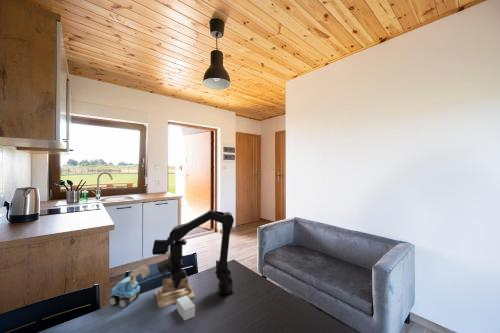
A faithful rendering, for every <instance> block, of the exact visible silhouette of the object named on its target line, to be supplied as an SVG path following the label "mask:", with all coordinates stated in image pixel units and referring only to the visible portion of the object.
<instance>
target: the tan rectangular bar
mask: <svg viewBox="0 0 500 333" xmlns="http://www.w3.org/2000/svg"><path fill="white" fill-rule="evenodd" d="M188 284H189V277H188V275H187V274H186V278H185V279H182V280H181V282H180V284H179V286H178V288H177V289H175V286H174V281H172V280H171V277H170V276H169V277H165V278H162V284H161V285H162V287H161V290H162V289H163V293H168V292H172V291H176V290H180V289H184V288H188Z"/></svg>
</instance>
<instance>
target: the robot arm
mask: <svg viewBox="0 0 500 333" xmlns="http://www.w3.org/2000/svg"><path fill="white" fill-rule="evenodd" d="M211 220H212V221H215V222H217V223H220V224H221V226H222V232H221V241H220V242H221V244H220V252H219V259H218V260H215V267H214V274H215V275H216V278H217V280H218V283H217V293H218V294H219V295H220V297H221V298H224V297H226V296H228V297H229V296H231V295H234V293H235V292H234V291H233V282H234V280H233V276H232V271H231V270H230V269H229V267H228V255H229V245H230V236H231V231H232V228H233V225H234V222H235V220H234V216H233V214H232V213H231V212H229V211H225V212H223V211H217V210H214V209H209V210H208V211H206V212H205V213H203V214H201V215H199V216H198V217H196V218H194V219H192V220H190V221H188V222H186V223H182V224H179V225H176V226H174V227H173V228H172V229H171V231H170V232H169V234H168V235H169V236H167V238H166V239H155V240H154V241H153V246H152V252H151V253H152V255H153V256H157V255H159V256H162V255H167V253H169V255H168V258H167V259H164V260H162V261H160V262H158V263H157V264H156V269H157V271H158V274H159V275H160V274H163V273H165V272H167V271H169V272H170V276H169V278H170V277H171V280H172V281H174V286H175V289H177V288H178V286H179V284H180V282H181V280H182V279H185V278H186V275H187V272H186V270H185V269H184V264H183V259H184V255H183V247H184V246H186V245H187V243H188V242H187V240H186V239H185V238H184V237H186V235H188V233H190V232H191V231H193V230H194V229H196V228H199V227H200V226H202V225H204V224H206V223H207V222H210V221H211ZM181 268H182V269H181Z"/></svg>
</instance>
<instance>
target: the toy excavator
mask: <svg viewBox="0 0 500 333" xmlns="http://www.w3.org/2000/svg"><path fill="white" fill-rule="evenodd" d="M150 272H151V271H150V267H149V266H148V265H147V264H143V265H141V266H139V268H137V269H135V270H133V271H131V272H130V276H127V277H125V278H123V279H122V280H120V281H119V282H117V283H116V285H115V286H114V287H113V288H112V289H111V293H110V294H111V296H110V297H109V298H108V304H109V305H110V306H116V305H117V304H118V305H119V308H121V309H124V308H126V307H127V306H128V305H130V303H131V302H133V301H134V300H136V299H137V298H138V297H139V296H140V292H141V291H140V290H141V286H140V285H139V282H138V281H137V276H138V275H141V278H142V279H144V278H146V277H147V276H148V275H149V274H150ZM116 303H117V304H116ZM113 304H115V305H113Z"/></svg>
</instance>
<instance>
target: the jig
mask: <svg viewBox="0 0 500 333" xmlns="http://www.w3.org/2000/svg"><path fill="white" fill-rule="evenodd" d="M186 295H187V297H188V298H189V299H190V300H193V299H195V296H196V295H195V294H194V292H193V289H192V286H191V284H190V283H188V288H184V289H180V290H176V291H172V292H168V293H163V289H162V288H161V290H160V289H159V290H155V298H156V304H157V308H158V309H160V308H163V307H167V306H168V307H169V306H171V305H172V306H173V305H176V304H177V299H178V298H181V297H184V296H186Z"/></svg>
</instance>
